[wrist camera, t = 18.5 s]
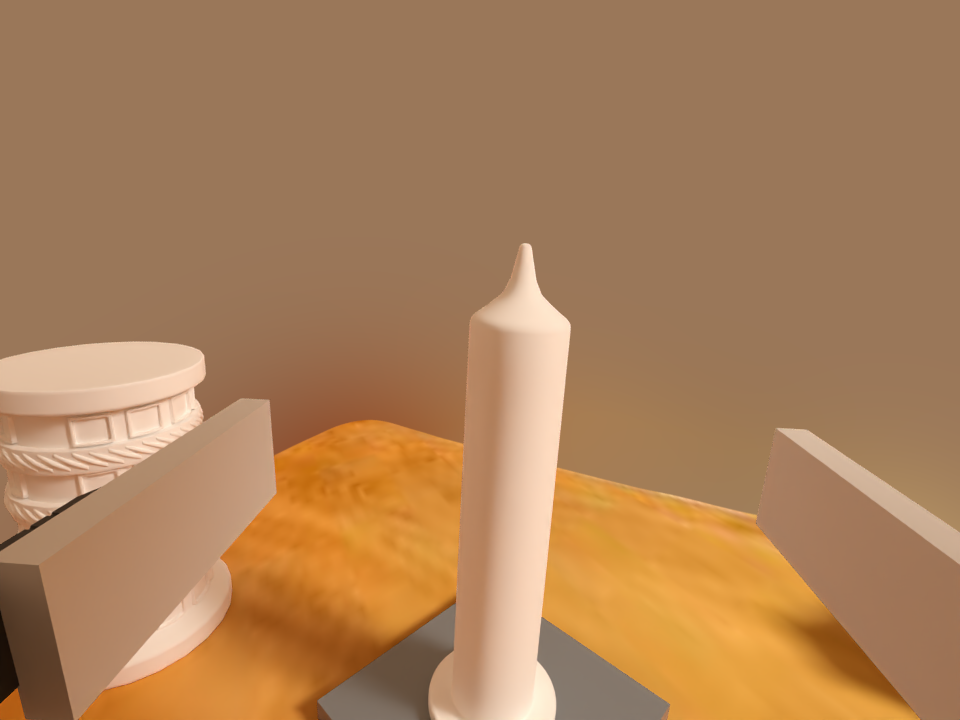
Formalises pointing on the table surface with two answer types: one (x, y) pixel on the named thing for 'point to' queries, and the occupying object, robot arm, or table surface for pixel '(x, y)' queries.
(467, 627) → the candle
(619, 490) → the table surface
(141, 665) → the decorative container
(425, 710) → the slate tile
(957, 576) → the robot arm
